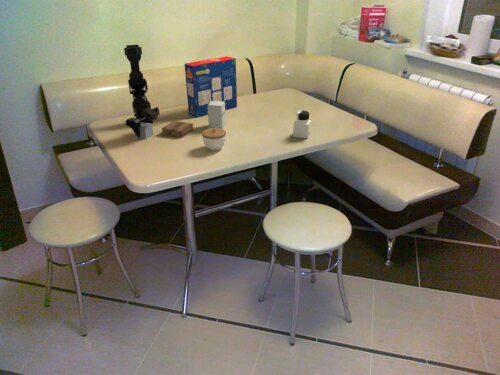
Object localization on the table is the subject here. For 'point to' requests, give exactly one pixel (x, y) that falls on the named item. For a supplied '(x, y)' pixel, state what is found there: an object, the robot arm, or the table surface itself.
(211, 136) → the lidded jar
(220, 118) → the supplement box
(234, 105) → the blue board game box
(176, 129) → the walnut block
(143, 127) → the slate cube
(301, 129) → the medicine bottle
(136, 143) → the table surface
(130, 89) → the robot arm
